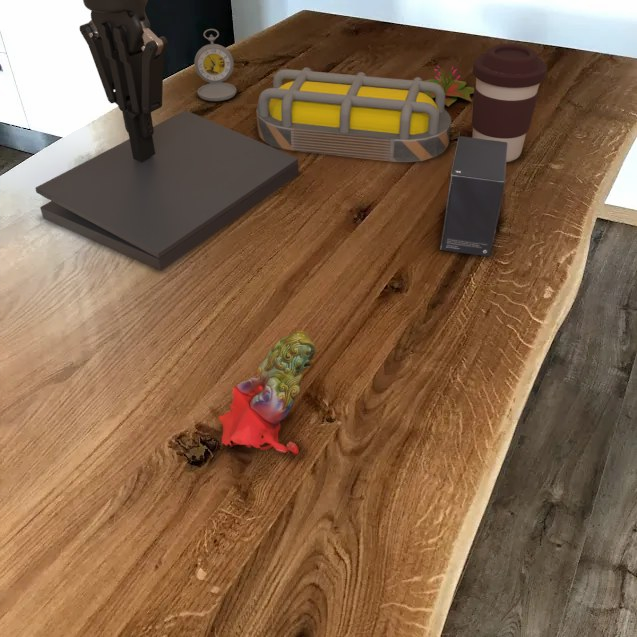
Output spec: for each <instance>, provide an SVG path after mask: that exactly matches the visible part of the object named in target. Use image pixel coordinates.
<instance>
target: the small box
mask: <svg viewBox="0 0 637 637" xmlns="http://www.w3.org/2000/svg"><path fill="white" fill-rule="evenodd" d="M507 147H508V143H507V142H501V141H493V140H485V139H477V138H472V137H470V136H462V135H459V136H458V138H457V142H456V147H455V152H454V156H453V161H452V164H451V165H452V167H451V171H450V177H449V183H448V191H447V196H446V197H447V199H446V205H445V214H444V221H443V227H442V232H441V238H440V245H439V250H440V251H444V252H451V253H452V252H454V253H460V254H467V255H474V256H480V257H481V256H482V257H491V253H492V249H493V244H494V241H495V238H496V237H495V236H496V232H497V227H498V221H499V217H500V212H501V206H502V202H503V196H504V189H505V183H506V171H507V162H506V161H507Z"/></svg>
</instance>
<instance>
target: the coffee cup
mask: <svg viewBox="0 0 637 637" xmlns="http://www.w3.org/2000/svg"><path fill="white" fill-rule="evenodd" d="M547 71H548V65H547V63H546V62H545V60H543V59H541V58H540V57H539V55H538V52H537V51H536V50H535V49H533V48H531V47H530V46H527V45H522V44H516V43H500V44H495V45H492V46H490V47H488V48H487V50H486V51H485V53H482V54H480V55H478V56H476V58H475V59H474V60H473V64H472V75H473V76H474V78H476V79H475V84H474V85H473V88H474V93H473V98H472V113H471V114H472V115H471V126H472V134H471V138H477V139H485V140H493V141H501V142H507V143H508V147H507V161H506V163H510V162H513V161H515V160H517V159H518V158H519V157H521V154H522V152H523V147H524V144H525V140H526V137H527V133H528V132H529V129H530V127H531V123H532V120H533V116H534V112H535V109H536V105H537V101H538V98H539V92H540V91H539V86H540V84H541V83H543V82H544V81H545V80H546V76H547Z"/></svg>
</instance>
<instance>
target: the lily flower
mask: <svg viewBox="0 0 637 637" xmlns="http://www.w3.org/2000/svg"><path fill="white" fill-rule="evenodd" d="M454 67H455V66H452V67H451V69H450V72H449V73H447V71H445V74H444V72H443V70H442V69H441V67H440V66H439V65H437V68H438V69H439V70H440V71H441V72H440V71H439V70H438V69H436V68H434V69H433V70H434V71H435V72H437V76H435V77H434V78H435V79H434V78H431V79H430V78H429V79H426V80H424V81H425V82H434V83H437V84H439V85H440V86H441V87H442V88H443V89H444V92H445V106H447V107H448V108H449V107H450V106H451V105H452V104H453V103H455V102H456V101H457V100H458V98H461V99H463V100H466V101H469V102H471V103H473V100H472V98H471V94H474V87H472V86H466V85H467V81H463V80H458V79H459V78H461V75H458V76H456V78H455V79H452V78H453V77H454V76H455V75H456V72H457V70H458V68H456V69H454ZM453 69H454V70H453ZM452 70H453V71H452ZM408 91H409V90H408ZM422 93H424V94H426V95H427V96H429V97H430V98H431V99H434V98H436V96H435V94H434V93H432V92H422Z"/></svg>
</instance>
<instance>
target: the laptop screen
mask: <svg viewBox="0 0 637 637" xmlns="http://www.w3.org/2000/svg"><path fill="white" fill-rule="evenodd" d="M153 129H154V133H153V135H152V137H153V143H154V149H155V154H154V155H153V156H151V157H149V158H147V159H145V160H143V161H142V162H140V161H138V160H135V159H133V154H132V149H131V144H130V139H129V138H128V139H126V140H124V141H123V142H120V143H119V144H117V145H115V146H113V147H111V148H109V149H106V150H105V151H103V152H102V153H99V154H98V155H97V154H96V156H93V157H92V158H89V159H87V160H86V161H84V162H82V163H80V164H78V165H76V166H74V167H72V168H70V169H69V170H67V171H65V172H62V173H60V174H59V175H57V176H55V177H53V178H51V179H49V180H48V181H45V182H43V183H42V184H39V185H38V186H36V187H35V192H36V194H38V195H39V196H42V197H44V199H45V198H46V199H47V200H49V201H50V202H51V201H53V202H55V203H57V204H58V205H60V206H62V207H64V208H66V209H68V210H70V211H71V212H73V213H75V214H77V215H79V216H81V217H83V218H84V219H86V220H88V221H90V222H92V223H94V224H96V225H97V226H99V227H101V228H103V229H105V230H107V231H109V232H110V233H112V234H114V235H116V236H118V237H120V238H122V239H124V240H125V241H127V242H129V243H131V244H133V245H135V246H137V247H138V248H140V249H142V250H144V251H146V252H148V253H150V254H151V255H153V256H155V257H157V258H160V257H162V256H163V255H165V254H166V253H167V252H169V251H170V250H172V249H173V248H175V247H176V246H178V245H179V244H181V243H182V242H184V241H185V240H186V239H188V238H189V237H191V236H192V235H194V234H195V233H197V232H198V231H200V230H201V229H203V228H204V227H205V226H207V225H208V224H210V223H211V222H213V221H214V220H216V219H217V218H219V217H220V216H222V215H223V214H224V213H226V212H227V211H229V210H230V209H232V208H233V207H235V206H236V205H238V204H239V203H241V202H242V201H243V200H245V199H246V198H248V197H249V196H251V195H252V194H254V193H255V192H257V191H258V190H260V189H261V188H262V187H264V186H265V185H267V184H268V183H270V182H271V181H273V180H274V179H276V178H277V177H279V176H280V175H281V174H283V173H284V172H286V171H287V170H289V169H290V168H292V167H293V166H295V165H296V164H298V165H299V158H298V157H296V156H293V155H291V154H289V153H287V152H285V151H282V150H280V149H278V148H276V147H274V146H271V145H269V144H267V143H263V142H261V141H259V140H257V139H254V138H252V137H250V136H247V135H245V134H242V133H241V132H238V131H235V130H234V129H230V128H228V127H225V126H224V125H221V124H218V122H214V121H211V120H210V119H207V118H205V117H202V116H201V115H198V114H196V113H194V112H191V111H189V110H186V109H185V110H182V111H180V112H178V113H177V114H175V115H173V116H171V117H169V118H167V119H165V120H163V121H162V122H159V123H158V124H155V125H153Z"/></svg>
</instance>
